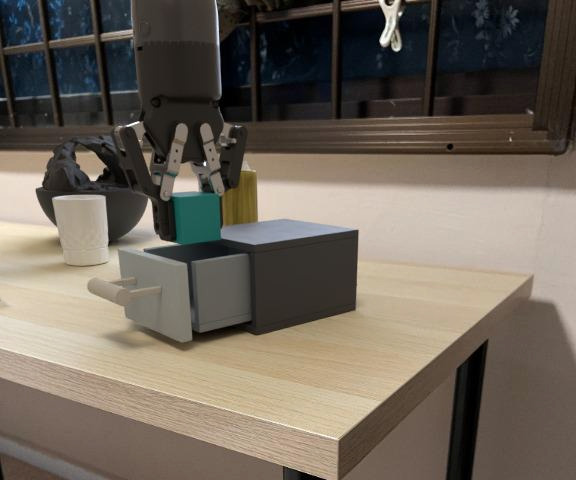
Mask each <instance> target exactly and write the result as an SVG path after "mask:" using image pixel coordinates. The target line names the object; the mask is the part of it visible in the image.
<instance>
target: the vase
mask: <svg viewBox="0 0 576 480" xmlns="http://www.w3.org/2000/svg"><path fill="white" fill-rule="evenodd" d="M258 204H259V203H258V175H257V170H256V169H255V170H254V169H250V170H241V174H240V179H239V185H238V187H237V188H232V189H230V190H228V191H226V192H225V193H224V194H223V197H222V207H223V226H228V225H236V224H244V223H253V222H259V209H258V206H259V205H258Z"/></svg>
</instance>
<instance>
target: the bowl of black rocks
mask: <svg viewBox="0 0 576 480" xmlns="http://www.w3.org/2000/svg"><path fill="white" fill-rule="evenodd" d="M78 145H81V146H83V147H84V148H86V149H87V150H90V151H91V152H93V153H94V154H95V155H96V156H97V158H98V160H100V161H101V162H102V164H103V165H105V167H104V168H103V169H102V173H100V174H99V175H98V176H97V178H96V180H91V179H90V176H89V175H88V174H87V173H86V172H85V171H84V170H83V169H81V165H80V164H79V163H77V155H76V151H77V146H78ZM103 149H104V150H103ZM52 153H53V156H51V157H49V159H48V161H47V163H46V167H45V169H46V171H44V176H43V180H42V182H41V186H40V187H35V189H34V190H35V195H36V198H37V201H38V203H39V207H40V208H41V210H42V212H43V213H44V214H45V216H46V218H48V220H49V221H50V222H51V223H52V224H53V225H54V226H55V227H56V228H57V223H56V217H55V212H54V207H53V202H52V198H53V197H58V196H69V195H102V196H105V197H106V211H107V224H108V242H111V241H115V240H118V239H120V238H122V237H124V236H126V235H128V233H130V232H131V231H132V230H133V229H134V228H135V227H136V226H137V225H138V224H139V222H141V220H142V218H143V216H144V214H145V212H146V209H147V207H148V203H149V198H148V197H146V196H143V195H140V194H135V193H133V192H132V191H131V190H130V187H129V184H128V182H127V179H126V176H125V173H124V171H123V168H122V165H121V162H120V159H119V157H118V154H117V151H116V148H115V146H114V143H113V140H112V137H111V135H105V134H99V135H98V137H95V136H93V135H87V136H86V138H85V139H84V138H82V137H81V136H79V135H72V136H70V137H68V138H67V139H66V140H64V141H63V142H61V143H59V144H57V145H55V147H53V149H52Z"/></svg>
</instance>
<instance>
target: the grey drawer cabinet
mask: <svg viewBox="0 0 576 480" xmlns="http://www.w3.org/2000/svg"><path fill="white" fill-rule="evenodd" d="M359 231H360V230H359V229H358V228H352V227H344V226H337V225H331V224H325V223H324V224H323V223H318V222H310V221H303V220H296V219H290V218H279V219H271V220H262V221H261V220H260V221H258V222H253V223H244V224H236V225H228V226H222V229H221V240H217V241H209V242H207V243H211V244H216V245H220V246H225V247H229V248H234V249H238V250H243V251H248V252H250V278H251V311H252V320H251V321H247V322H243V323H239V324H235V325H230V326H231V327H234V328H236V329H239V330H242V331H244V332H247V333H250V334H252V335H255V336H259V335H263V334H267V333H270V332H275V331H278V330H279V331H280V330H282V329H285V328H289V327H293V326H299V325H302V324H305V323H309V322H313V321H318V320H320V319H321V320H322V319H324V318H328V317H332V316H335V315H340V314H344V313H347V312H350V311H355V310H356V309H357V293H358V292H357V290H358V289H357V287H358V260H359V235H360V233H359Z"/></svg>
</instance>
